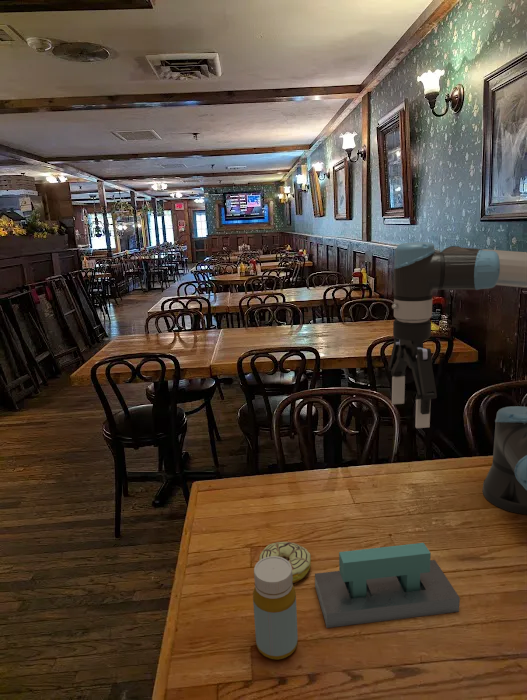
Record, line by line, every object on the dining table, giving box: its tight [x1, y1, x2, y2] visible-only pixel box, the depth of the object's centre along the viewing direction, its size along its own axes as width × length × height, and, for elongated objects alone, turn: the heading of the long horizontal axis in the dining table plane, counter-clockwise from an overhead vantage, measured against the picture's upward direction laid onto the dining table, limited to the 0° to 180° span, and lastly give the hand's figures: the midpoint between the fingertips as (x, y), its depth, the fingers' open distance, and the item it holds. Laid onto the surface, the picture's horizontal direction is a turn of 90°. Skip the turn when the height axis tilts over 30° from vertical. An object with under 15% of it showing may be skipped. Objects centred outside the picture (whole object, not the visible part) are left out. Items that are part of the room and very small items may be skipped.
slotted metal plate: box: [314, 559, 461, 629], centre depth 90 cm, size 24×10×3 cm, turn 96°
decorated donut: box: [258, 541, 312, 585], centre depth 99 cm, size 10×11×4 cm
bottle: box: [252, 556, 299, 661], centre depth 80 cm, size 7×7×15 cm
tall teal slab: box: [338, 542, 432, 599], centre depth 89 cm, size 16×3×10 cm, turn 96°
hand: (409, 414), depth 106 cm, fingers open, 13 cm apart
